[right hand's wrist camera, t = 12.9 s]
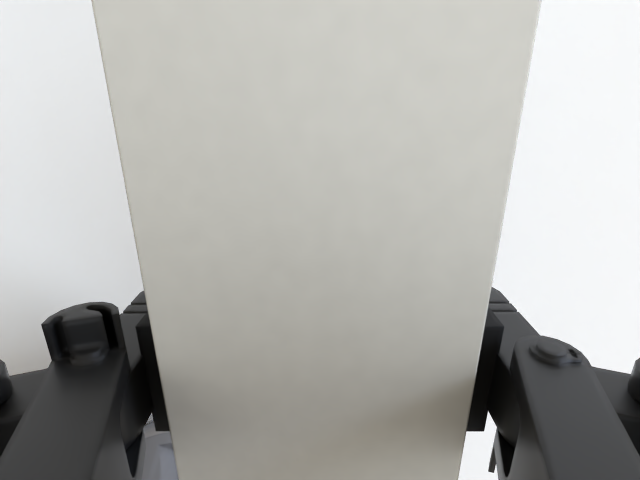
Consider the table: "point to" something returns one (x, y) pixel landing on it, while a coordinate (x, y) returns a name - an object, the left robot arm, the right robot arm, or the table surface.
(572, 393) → the right robot arm
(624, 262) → the table surface
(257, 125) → the bar
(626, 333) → the table surface
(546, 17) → the table surface
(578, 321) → the table surface
